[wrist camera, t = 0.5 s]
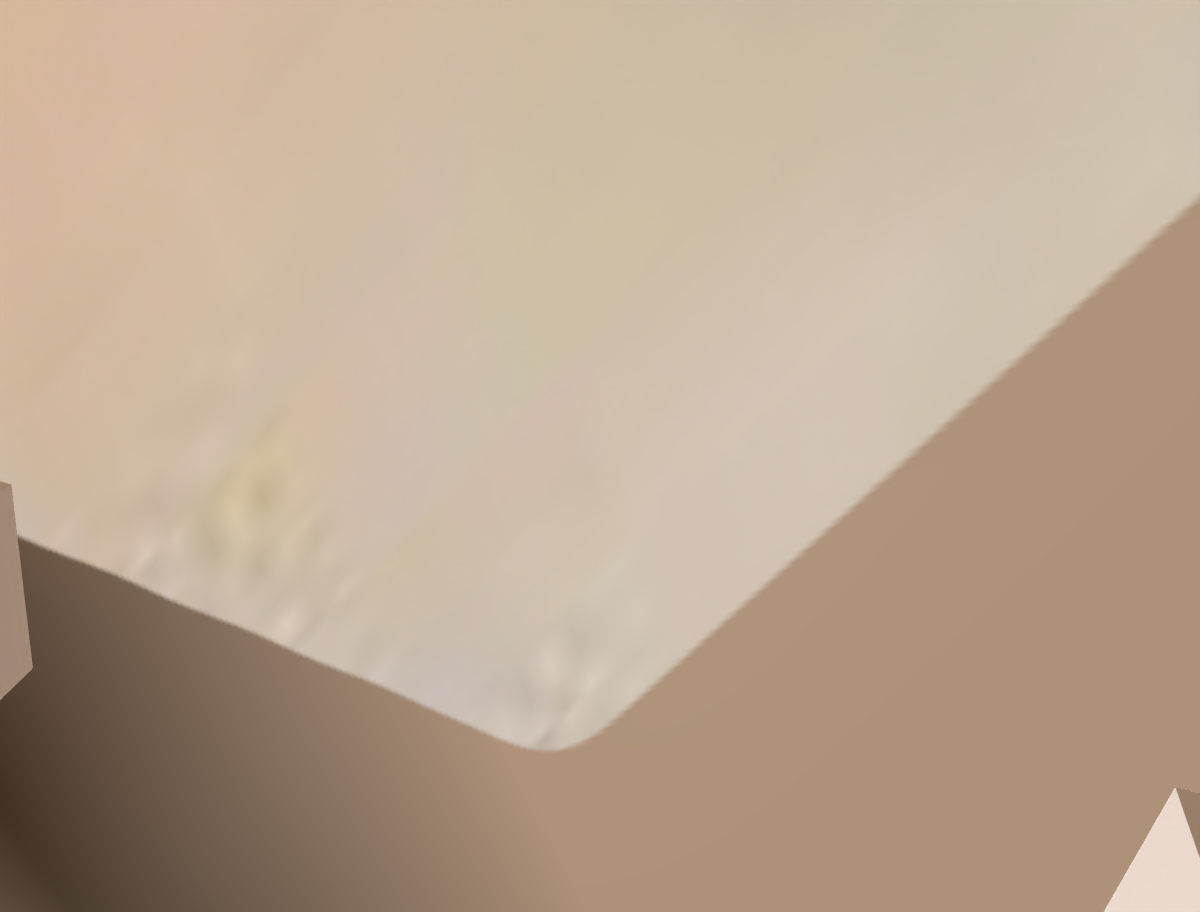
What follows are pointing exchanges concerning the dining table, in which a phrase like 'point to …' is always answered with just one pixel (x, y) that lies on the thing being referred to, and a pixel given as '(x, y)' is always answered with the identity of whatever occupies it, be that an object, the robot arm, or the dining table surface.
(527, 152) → the dining table surface
